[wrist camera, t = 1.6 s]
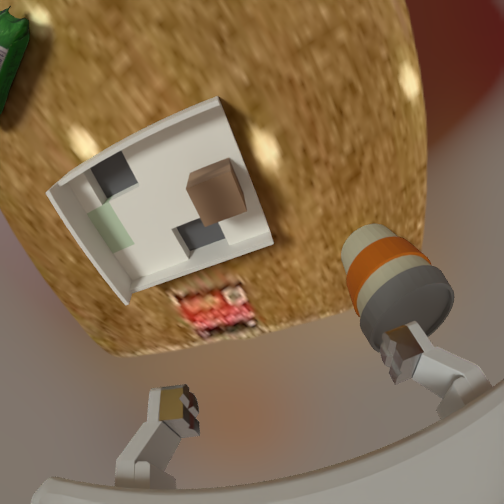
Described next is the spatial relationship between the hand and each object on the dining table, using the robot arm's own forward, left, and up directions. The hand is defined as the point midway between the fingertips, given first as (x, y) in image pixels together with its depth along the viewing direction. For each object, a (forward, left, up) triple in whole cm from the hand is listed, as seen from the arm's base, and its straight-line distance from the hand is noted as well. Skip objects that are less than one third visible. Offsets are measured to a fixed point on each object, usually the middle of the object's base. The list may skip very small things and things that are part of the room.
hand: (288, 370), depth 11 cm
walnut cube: (+3, +1, -24) cm, 24 cm away
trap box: (+10, +1, -27) cm, 28 cm away
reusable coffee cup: (-13, +19, -27) cm, 36 cm away
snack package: (+22, -26, -27) cm, 44 cm away
